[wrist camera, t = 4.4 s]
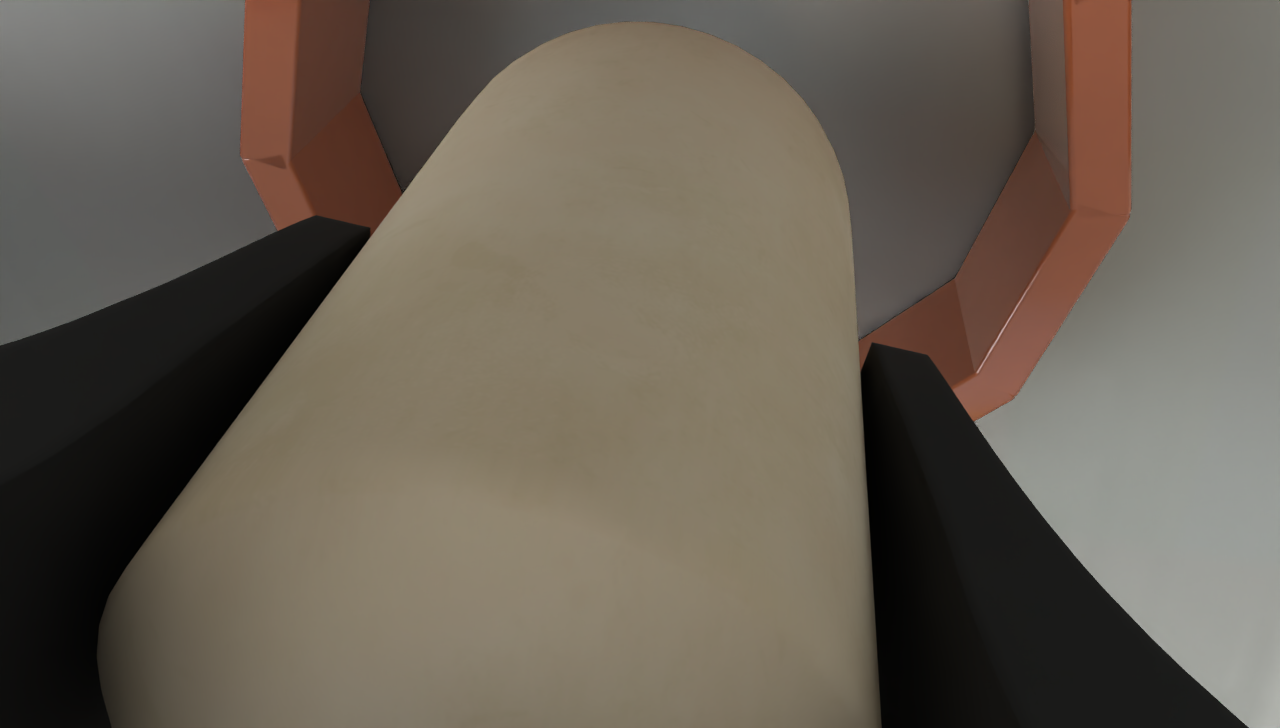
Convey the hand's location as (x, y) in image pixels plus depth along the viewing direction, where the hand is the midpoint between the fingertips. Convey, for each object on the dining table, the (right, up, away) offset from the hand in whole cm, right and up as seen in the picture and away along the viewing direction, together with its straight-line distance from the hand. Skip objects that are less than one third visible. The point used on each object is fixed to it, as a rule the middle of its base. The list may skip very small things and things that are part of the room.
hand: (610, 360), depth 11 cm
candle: (0, +2, +3) cm, 4 cm away
